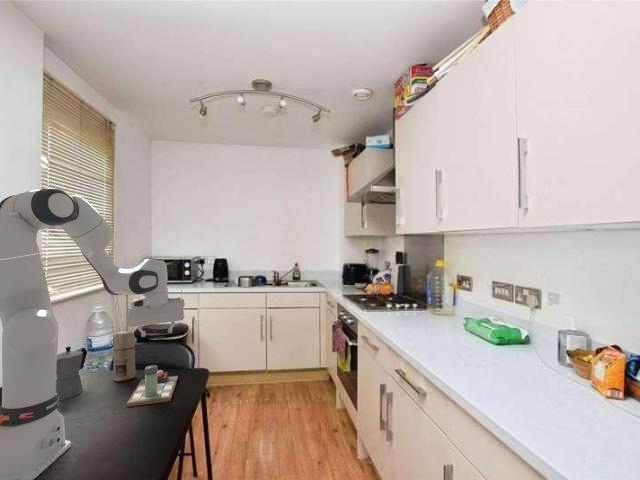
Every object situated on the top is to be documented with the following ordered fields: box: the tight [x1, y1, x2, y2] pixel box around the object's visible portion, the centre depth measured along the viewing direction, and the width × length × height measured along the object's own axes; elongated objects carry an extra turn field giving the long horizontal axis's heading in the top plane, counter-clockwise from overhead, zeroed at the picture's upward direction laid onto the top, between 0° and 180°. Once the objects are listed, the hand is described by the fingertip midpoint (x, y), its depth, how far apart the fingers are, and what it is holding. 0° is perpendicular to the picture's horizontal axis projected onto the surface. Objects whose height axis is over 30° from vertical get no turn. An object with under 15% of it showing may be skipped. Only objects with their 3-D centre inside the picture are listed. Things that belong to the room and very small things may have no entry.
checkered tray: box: [126, 372, 179, 407], centre depth 129 cm, size 22×14×3 cm, turn 17°
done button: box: [157, 369, 164, 378], centre depth 136 cm, size 4×4×2 cm
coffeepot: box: [56, 346, 88, 400], centre depth 129 cm, size 15×9×18 cm, turn 174°
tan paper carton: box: [112, 330, 137, 382], centre depth 143 cm, size 8×8×20 cm
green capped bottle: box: [144, 364, 158, 397], centre depth 122 cm, size 4×4×10 cm
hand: (157, 334), depth 132 cm, fingers open, 8 cm apart
